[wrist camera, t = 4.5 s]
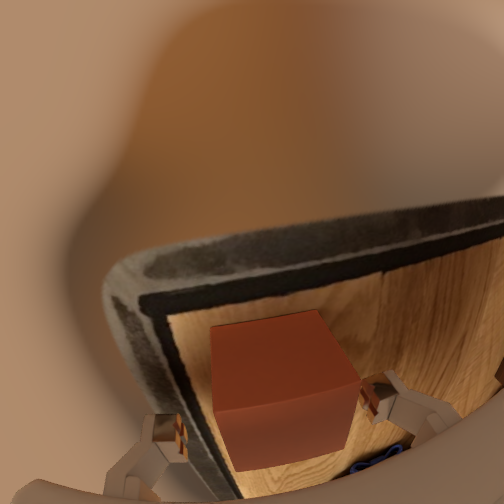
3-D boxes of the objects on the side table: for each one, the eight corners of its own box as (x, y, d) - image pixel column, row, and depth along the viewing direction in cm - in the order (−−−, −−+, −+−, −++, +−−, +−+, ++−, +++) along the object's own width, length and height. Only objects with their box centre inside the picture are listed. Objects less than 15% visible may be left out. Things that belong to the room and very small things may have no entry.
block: (209, 326, 12) (212, 412, 8) (316, 308, 13) (362, 380, 8) (226, 397, 14) (235, 472, 9) (314, 380, 15) (344, 449, 10)
